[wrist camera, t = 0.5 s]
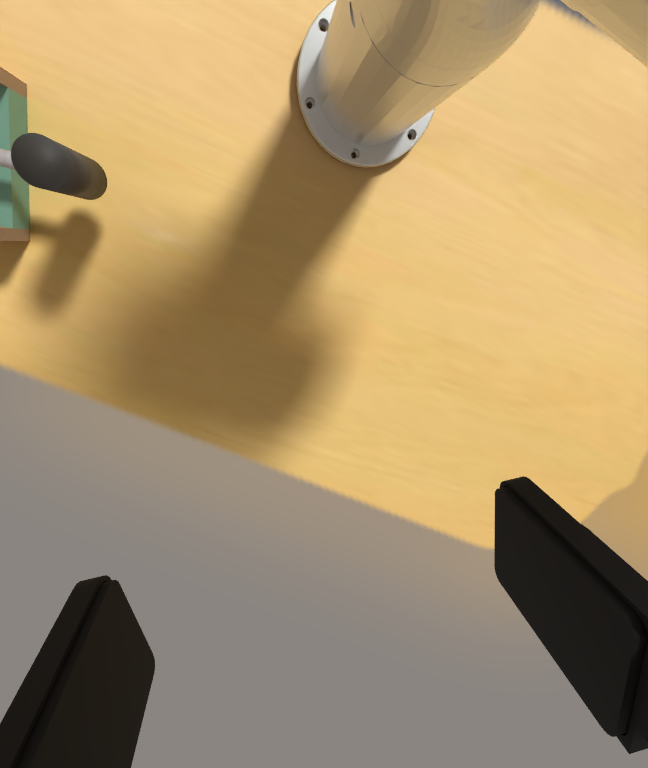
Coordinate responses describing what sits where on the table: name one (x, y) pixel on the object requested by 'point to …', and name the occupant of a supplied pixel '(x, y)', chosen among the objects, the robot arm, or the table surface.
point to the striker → (54, 167)
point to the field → (3, 185)
